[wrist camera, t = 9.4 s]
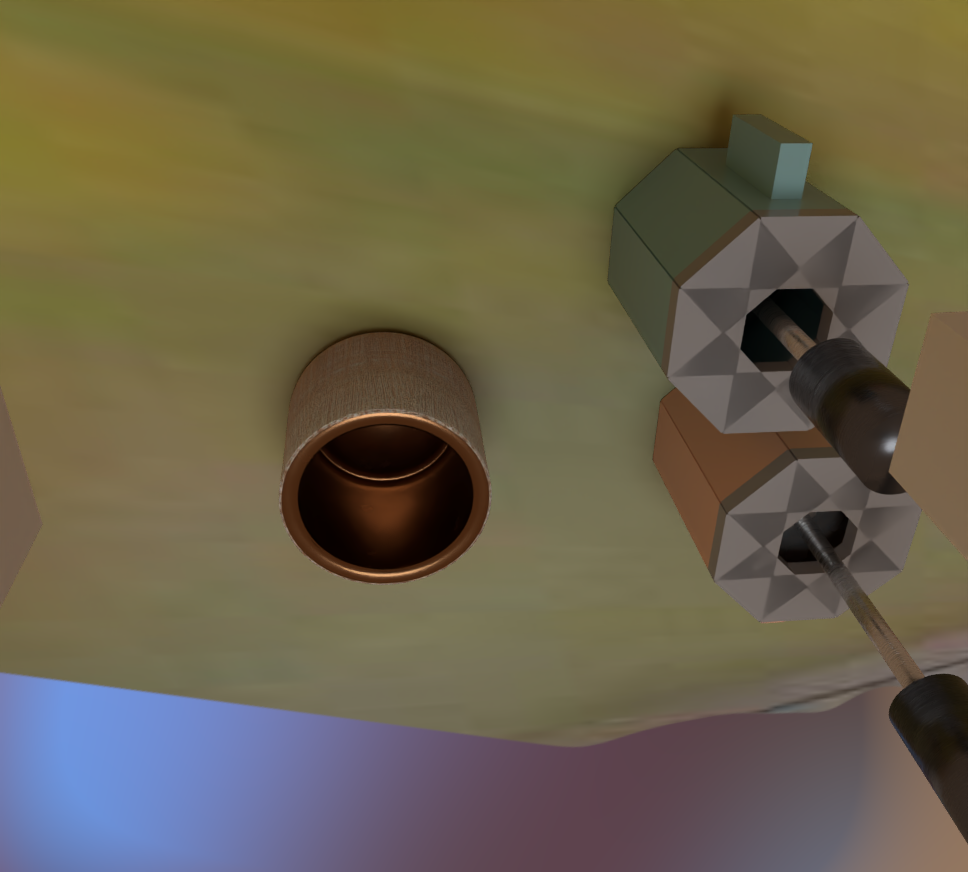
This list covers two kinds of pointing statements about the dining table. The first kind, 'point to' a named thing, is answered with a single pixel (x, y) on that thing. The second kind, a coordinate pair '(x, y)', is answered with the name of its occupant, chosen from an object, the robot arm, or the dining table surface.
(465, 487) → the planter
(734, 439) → the pot terracotta
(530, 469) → the dining table surface
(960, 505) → the robot arm
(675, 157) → the pot teal
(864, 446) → the dark brown cylinder-topped rod
